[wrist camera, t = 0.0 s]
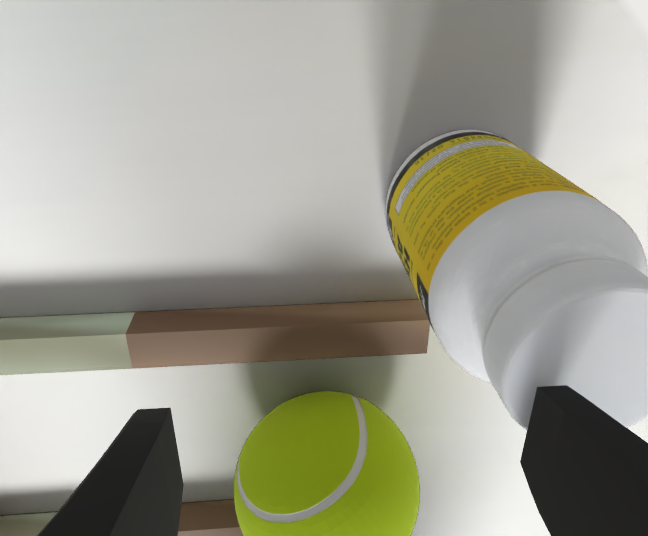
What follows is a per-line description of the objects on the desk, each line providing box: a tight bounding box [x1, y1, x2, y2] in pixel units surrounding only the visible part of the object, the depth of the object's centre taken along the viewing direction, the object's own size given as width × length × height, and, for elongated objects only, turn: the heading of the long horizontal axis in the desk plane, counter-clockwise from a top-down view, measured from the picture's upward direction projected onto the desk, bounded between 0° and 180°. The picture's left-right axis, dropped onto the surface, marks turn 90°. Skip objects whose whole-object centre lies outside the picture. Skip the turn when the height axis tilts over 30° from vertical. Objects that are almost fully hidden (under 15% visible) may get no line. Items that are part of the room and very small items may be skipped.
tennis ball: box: [234, 391, 420, 536], centre depth 21 cm, size 7×7×7 cm
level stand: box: [0, 300, 430, 536], centre depth 22 cm, size 12×22×2 cm, turn 90°
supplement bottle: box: [385, 130, 648, 430], centre depth 15 cm, size 5×5×10 cm
